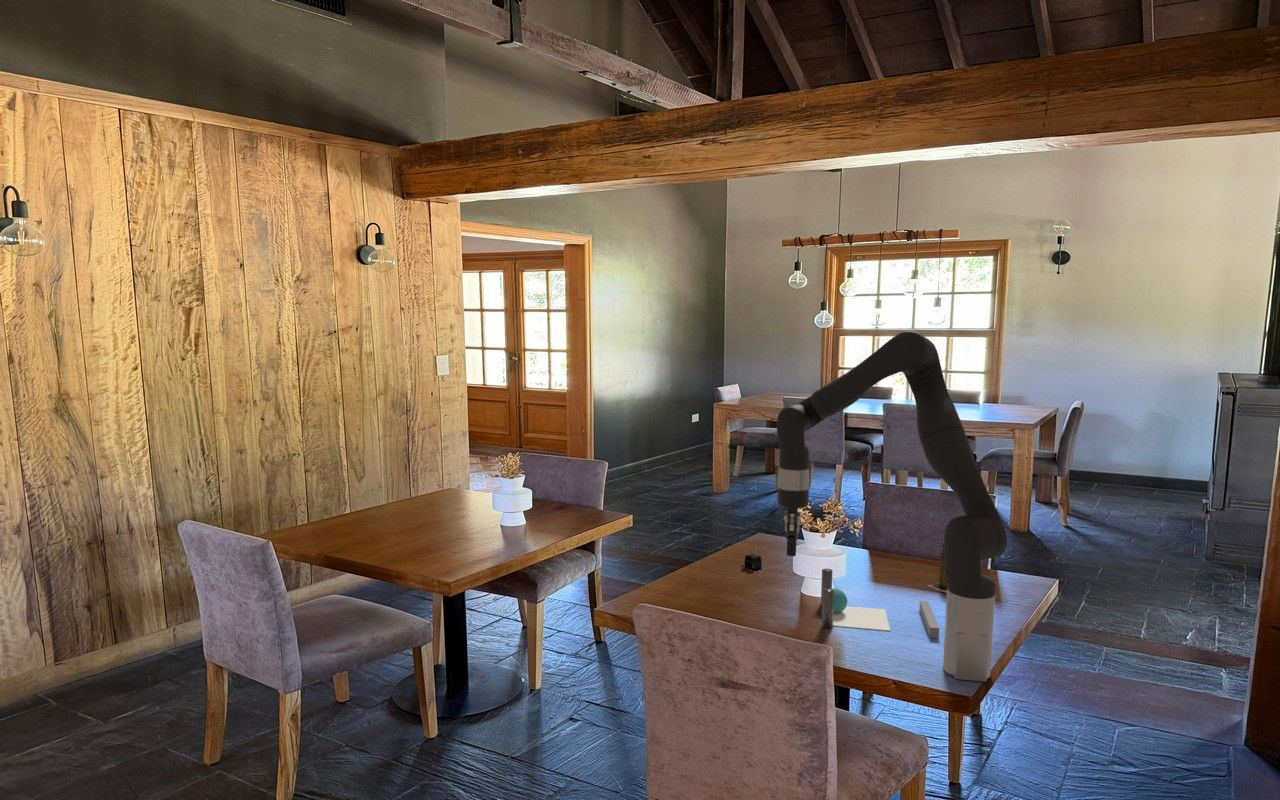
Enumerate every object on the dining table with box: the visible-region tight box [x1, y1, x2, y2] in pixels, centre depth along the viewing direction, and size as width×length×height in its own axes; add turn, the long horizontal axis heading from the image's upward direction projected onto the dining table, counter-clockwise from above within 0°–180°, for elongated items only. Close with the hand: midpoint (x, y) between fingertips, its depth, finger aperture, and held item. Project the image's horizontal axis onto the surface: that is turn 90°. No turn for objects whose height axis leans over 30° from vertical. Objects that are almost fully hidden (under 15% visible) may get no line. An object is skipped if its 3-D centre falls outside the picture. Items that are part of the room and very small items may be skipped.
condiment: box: [927, 543, 947, 594], centre depth 219 cm, size 7×8×12 cm
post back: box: [820, 568, 833, 606], centre depth 206 cm, size 3×3×9 cm
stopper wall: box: [918, 600, 940, 640], centre depth 193 cm, size 18×2×2 cm, turn 168°
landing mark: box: [833, 605, 891, 632], centre depth 197 cm, size 14×14×1 cm
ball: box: [832, 588, 848, 613], centre depth 200 cm, size 6×6×6 cm
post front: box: [821, 588, 834, 630], centre depth 190 cm, size 3×3×9 cm
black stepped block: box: [739, 552, 763, 572], centre depth 235 cm, size 12×7×5 cm, turn 35°
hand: (791, 555), depth 198 cm, fingers closed
